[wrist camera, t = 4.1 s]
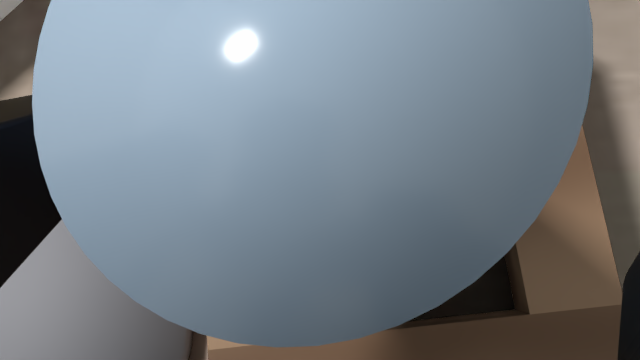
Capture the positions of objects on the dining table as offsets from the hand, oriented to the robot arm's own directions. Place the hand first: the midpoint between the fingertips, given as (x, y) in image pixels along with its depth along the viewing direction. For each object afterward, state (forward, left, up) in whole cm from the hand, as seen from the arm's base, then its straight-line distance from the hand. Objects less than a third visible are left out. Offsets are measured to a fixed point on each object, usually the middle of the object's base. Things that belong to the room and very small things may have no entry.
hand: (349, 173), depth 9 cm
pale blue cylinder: (0, 0, -9) cm, 9 cm away
